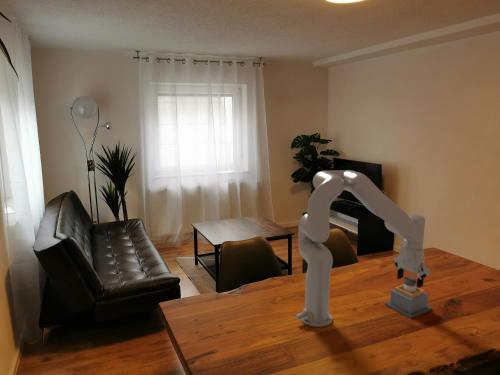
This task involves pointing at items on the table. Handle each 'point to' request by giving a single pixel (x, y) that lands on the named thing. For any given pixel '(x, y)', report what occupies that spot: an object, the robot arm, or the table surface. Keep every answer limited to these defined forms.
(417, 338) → the table surface
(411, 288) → the gray and white capsule
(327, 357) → the table surface
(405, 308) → the grey square peg holder
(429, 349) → the table surface
